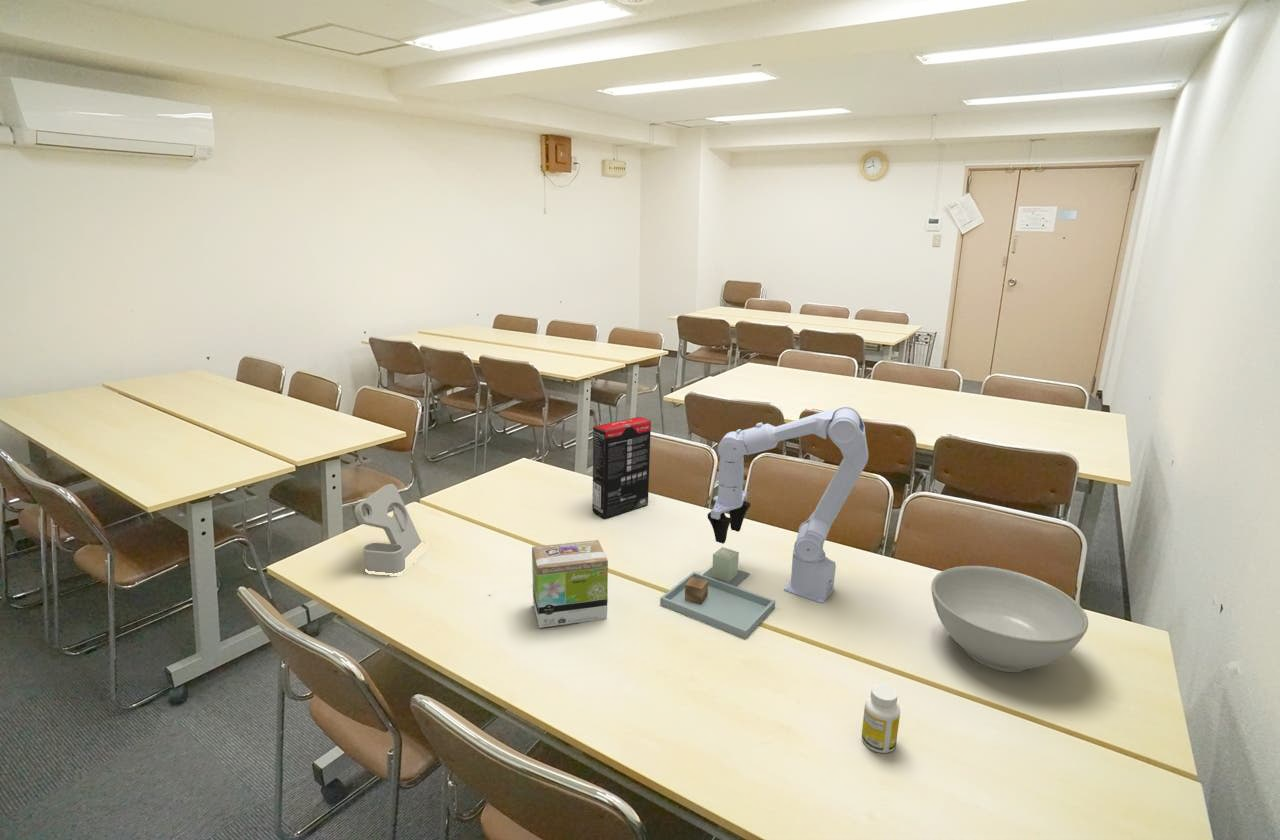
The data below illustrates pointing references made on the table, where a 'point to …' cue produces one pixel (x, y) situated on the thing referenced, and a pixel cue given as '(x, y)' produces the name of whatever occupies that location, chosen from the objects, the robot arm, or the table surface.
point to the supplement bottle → (881, 719)
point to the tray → (721, 606)
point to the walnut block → (696, 590)
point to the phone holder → (388, 530)
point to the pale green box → (725, 564)
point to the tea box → (569, 583)
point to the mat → (734, 581)
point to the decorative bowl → (1007, 617)
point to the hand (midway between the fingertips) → (728, 536)
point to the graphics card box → (621, 466)
